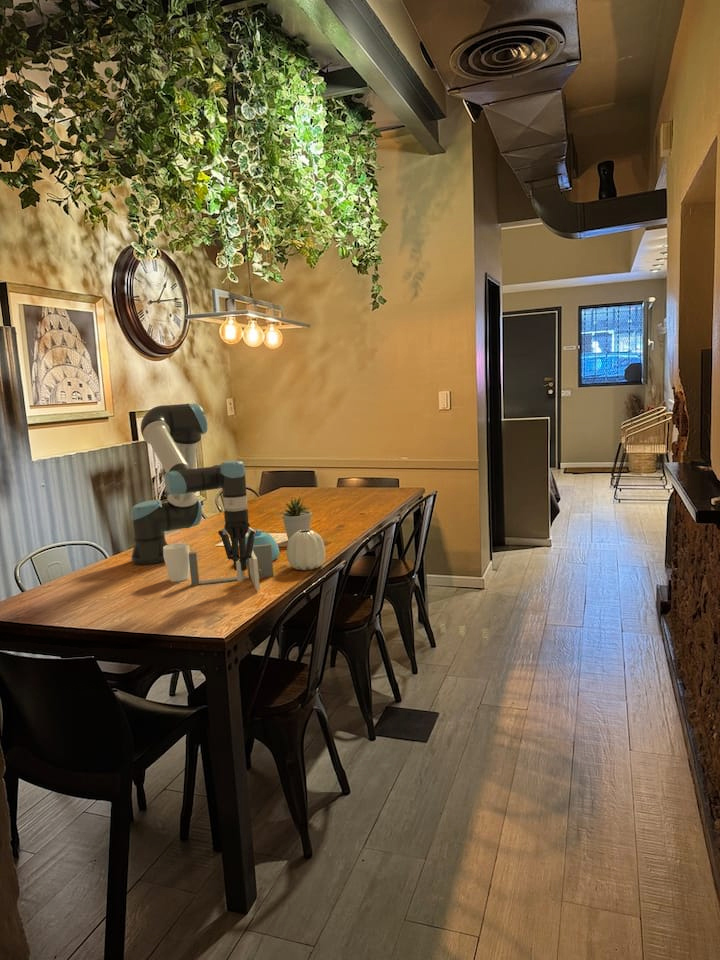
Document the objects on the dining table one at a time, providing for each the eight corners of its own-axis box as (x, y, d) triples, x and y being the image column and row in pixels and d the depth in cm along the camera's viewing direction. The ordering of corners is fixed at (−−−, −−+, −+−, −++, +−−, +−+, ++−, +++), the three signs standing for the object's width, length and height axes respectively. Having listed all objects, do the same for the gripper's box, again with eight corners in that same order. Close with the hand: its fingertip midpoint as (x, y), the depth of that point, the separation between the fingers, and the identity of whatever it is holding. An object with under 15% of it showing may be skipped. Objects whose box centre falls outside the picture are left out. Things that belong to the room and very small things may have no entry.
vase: (280, 568, 232) (277, 532, 230) (312, 560, 241) (309, 525, 239) (302, 575, 222) (299, 537, 220) (334, 566, 230) (331, 529, 228)
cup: (172, 584, 220) (168, 550, 219) (162, 579, 227) (158, 546, 226) (196, 578, 226) (193, 545, 224) (185, 573, 233) (182, 541, 231)
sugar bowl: (287, 556, 249) (285, 527, 247) (261, 566, 236) (258, 536, 235) (259, 553, 257) (256, 524, 255) (232, 562, 245) (229, 533, 243)
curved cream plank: (250, 576, 221) (247, 548, 219) (257, 575, 222) (254, 547, 220) (256, 589, 206) (253, 559, 204) (263, 588, 206) (261, 558, 205)
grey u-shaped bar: (192, 583, 220) (188, 549, 219) (273, 574, 225) (270, 540, 224) (191, 585, 217) (188, 551, 216) (273, 576, 223) (270, 542, 221)
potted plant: (275, 541, 274) (271, 495, 272) (301, 535, 283) (298, 490, 281) (293, 545, 265) (289, 498, 262) (319, 539, 274) (316, 492, 271)
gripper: (212, 511, 205) (217, 582, 208) (249, 511, 202) (254, 584, 205) (223, 506, 212) (228, 576, 216) (259, 506, 209) (264, 577, 212)
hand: (241, 580), depth 210 cm, fingers closed
